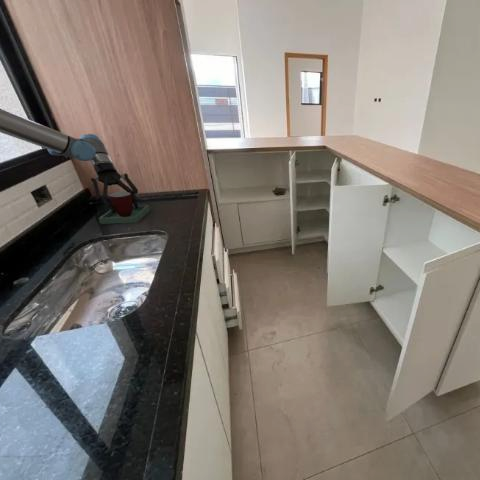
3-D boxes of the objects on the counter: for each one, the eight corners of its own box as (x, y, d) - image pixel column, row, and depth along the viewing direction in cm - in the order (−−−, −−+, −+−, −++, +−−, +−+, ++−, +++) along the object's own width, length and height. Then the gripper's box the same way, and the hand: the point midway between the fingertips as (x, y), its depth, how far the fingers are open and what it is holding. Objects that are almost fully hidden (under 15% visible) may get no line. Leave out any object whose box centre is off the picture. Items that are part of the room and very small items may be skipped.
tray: (100, 224, 114) (98, 218, 113) (117, 211, 127) (115, 206, 125) (137, 222, 116) (135, 217, 115) (150, 210, 129) (148, 205, 128)
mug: (118, 211, 124) (112, 190, 119) (138, 210, 127) (133, 189, 122) (112, 219, 115) (106, 197, 111) (134, 218, 118) (129, 196, 114)
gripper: (130, 167, 129) (151, 207, 127) (75, 175, 115) (97, 219, 113) (130, 158, 123) (151, 199, 121) (72, 165, 110) (95, 211, 108)
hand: (125, 209), depth 117 cm, fingers closed on mug, 8 cm apart
